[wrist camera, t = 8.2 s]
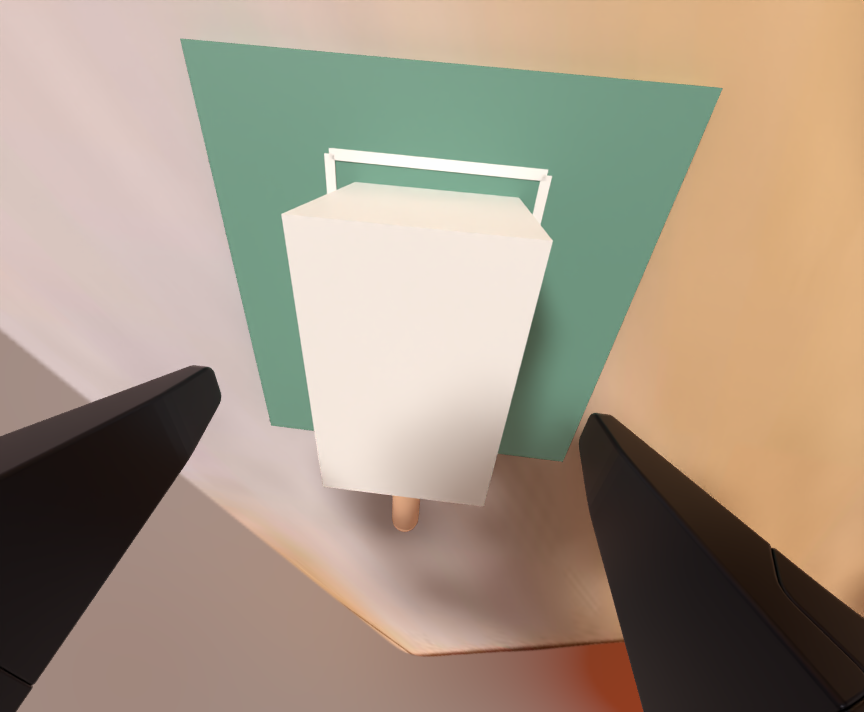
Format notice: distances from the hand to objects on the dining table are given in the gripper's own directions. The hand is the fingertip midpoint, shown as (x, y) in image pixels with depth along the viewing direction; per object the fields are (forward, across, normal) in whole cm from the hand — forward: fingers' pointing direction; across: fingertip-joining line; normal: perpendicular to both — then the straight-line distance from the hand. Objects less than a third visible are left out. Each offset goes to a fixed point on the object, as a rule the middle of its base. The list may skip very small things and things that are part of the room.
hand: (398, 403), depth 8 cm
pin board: (+6, 0, 0) cm, 6 cm away
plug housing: (+5, 0, +2) cm, 6 cm away
